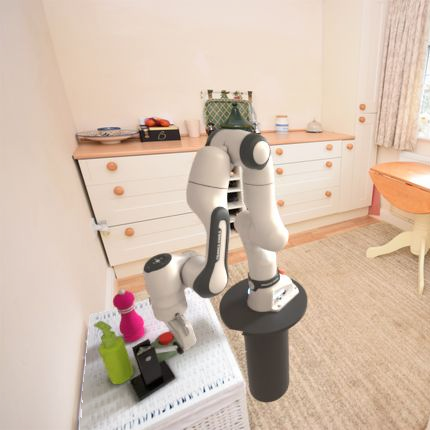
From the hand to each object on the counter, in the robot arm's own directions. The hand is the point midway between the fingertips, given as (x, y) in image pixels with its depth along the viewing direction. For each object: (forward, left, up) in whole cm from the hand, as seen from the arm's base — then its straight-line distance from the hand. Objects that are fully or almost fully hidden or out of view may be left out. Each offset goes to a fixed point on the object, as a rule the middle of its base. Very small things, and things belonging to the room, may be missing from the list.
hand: (179, 339), depth 91 cm
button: (+2, -9, -6) cm, 11 cm away
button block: (+2, -9, -10) cm, 13 cm away
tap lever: (+6, 0, -1) cm, 6 cm away
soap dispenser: (+16, -9, -10) cm, 20 cm away
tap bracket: (+10, 0, -10) cm, 13 cm away
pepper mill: (+8, -23, -10) cm, 26 cm away
